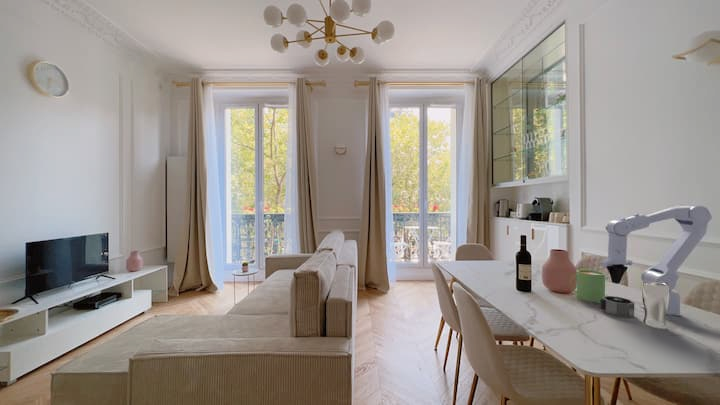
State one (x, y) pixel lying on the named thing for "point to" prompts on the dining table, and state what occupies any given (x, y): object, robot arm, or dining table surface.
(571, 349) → the dining table surface
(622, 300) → the plunger
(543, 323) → the dining table surface
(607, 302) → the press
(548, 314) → the dining table surface
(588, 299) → the mug
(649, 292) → the beer glass
